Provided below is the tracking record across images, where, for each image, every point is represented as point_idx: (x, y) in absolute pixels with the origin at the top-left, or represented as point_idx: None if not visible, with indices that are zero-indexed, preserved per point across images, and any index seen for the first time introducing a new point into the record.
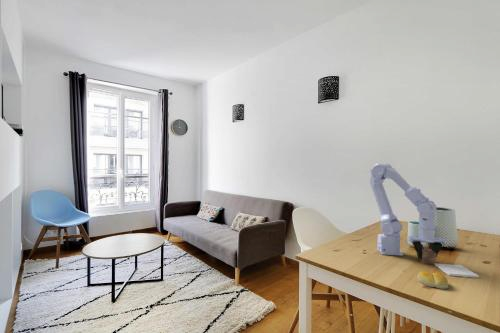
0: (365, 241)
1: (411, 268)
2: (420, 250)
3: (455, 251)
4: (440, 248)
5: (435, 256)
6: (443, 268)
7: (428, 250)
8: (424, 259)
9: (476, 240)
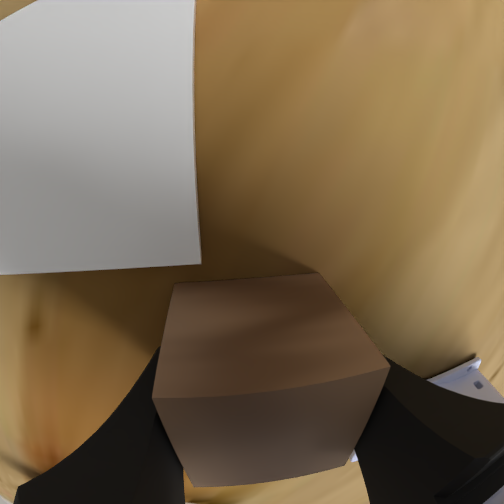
0: None
1: (469, 118)
2: (414, 393)
3: (38, 469)
4: (55, 474)
5: (170, 350)
6: (169, 87)
7: (240, 460)
8: (324, 300)
9: (13, 493)
